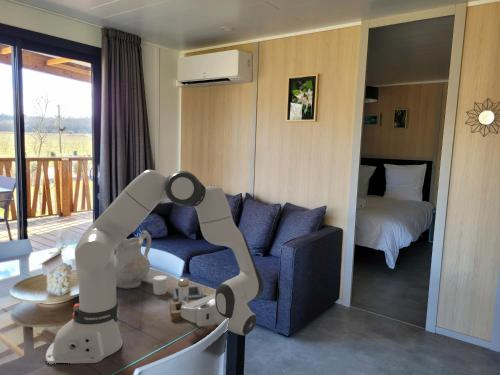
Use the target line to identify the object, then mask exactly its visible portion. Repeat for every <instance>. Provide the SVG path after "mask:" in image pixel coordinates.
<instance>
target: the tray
mask: <svg viewBox="0 0 500 375" xmlns="http://www.w3.org/2000/svg"><path fill="white" fill-rule="evenodd" d="M171 294H172V295H171V296H172V302H178V287H172V288H171ZM202 294H204V293H203V291H202V289H201V286H200V285H191V286H190V285H189V301H190V300H195V301H196V300H199V299H201V295H202Z"/></svg>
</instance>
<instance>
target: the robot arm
mask: <svg viewBox="0 0 500 375" xmlns="http://www.w3.org/2000/svg"><path fill="white" fill-rule="evenodd" d="M167 199H168V200H169V201H171V203H173V204H175V205H177V206H184V207H194V209H195V211H196V213H197V218H198V223H199V226H200V227H199V228H200V231H201V234H202V236H203V238H204V240H206V241H207V242H208V243H210V244H211V245H215V246H222V247H223V246H224V247H228V248H229V249H231V250H232V252H233V254H234V256H235V260H236V262H237V266H238V267H239V274H238V275H236V276H233V277H232V278H229V279H227V280H225V281H223V282H221V283H220V284H219V285H218V286H217V287H216V291H215V293H213V294H211V293H205V292H204V293H203V294H202V295H201V299H199V300H196V301H193V302H191V303H188V301H186V300H184V301H182V306H181V316H182V317H183V318H184V320H186V321H189V322H190V323H195V324H196V325H197V326H198V327H205V326H215V325H217V326H219V325H220V324H221V323H222V322H223V321H224V320H225V319H227V318H229V323H228V327H227V329H228V330H227V329H226V330H227V331H229V332H231V333H234V334H236V335H240V336H247V335H249V334H250V333H251V332H252V331H253V330H254V329H255V327H256V325H257V321H258V317H257V315H256V314H255V313H254V312H253V311H252V310H251V309H250V307H249V304H248V303H249V302H251V301H254V300H256V299H258V298H260V297H261V296H262V295H263V293H264V288H265V283H264V279H263V277H262V275H261V273H260V271H259V270H258V268H257V264H256V262H255V260H254V257H253V254H252V251H251V249H250V246H249V243H248V241H247V239H246V238H247V237H246V236H245V234H244V233H243V231H242V230H241V229H240V228H238V227H237V226H236V224H235V221H234V218H233V216H232V215H233V214H232V212H231V207H230V204H229V201H228V199H227V196H226V194H225V191H224V190H223V189H222V188H221V187H219V186H215V185H209V186H205V185H204V184H203V183H202V182H201V181H200V180H199V179H198V177H197V176H196V175H195V174H193V173H192V172H191V171H187V170H180V171H176V172H175V173H173V174H171V175H169V176H165V175H163V174H162V173H160V172H159V171H157V170H153V169H146V170H145V171H143V172H141V173H140V174H139V175H137V176H136V177H135V178H134V179H133V180H132V181H130V183H129V184H128V185H127V186H126V187H125V188H124V189H123V190H122V191H121V193H120V194H118V196H117V197H116V198H115V199H114V200H113V201H112V202H111V203H110V205H108V207H107V208H106V209H105V210H104V211H103V212H102V213H101V214H100V215H99V216H98V218H96V219H95V221H94V222H93V223H91V225H89V226H88V228H87V229H86V230H85V232H83V234H82V236H81V237H80V239H79V241H78V242H77V244H75V245H76V246H75V250H74V259H75V260H74V261H75V268H76V275H77V281H78V298H79V300H78V302H79V303H75V304H74V305H73V308H72V309H73V310H72V319H71V320H69V321H68V322H67V323H65V324H64V325H63V326H62V327H60V328H59V330H58V331H57V333H56V334H55V337H54V340H53V342H52V343H51V344H50V345H49V347H48V348H47V349H46V352H45V362H46V361H47V362H46V364H48V363H49V364H48V365H57V364H56V363H68V364H69V363H70V364H71V365H72V364H95V363H100V362H101V361H102V360H103V359H105V358H106V357H109V356H111V355H113V354H115V353H117V351H119V350H120V349H121V348H122V346H123V343H124V342H123V339H122V337H121V336H122V335H121V332H120V329H119V322H118V321H119V313H120V312H119V303H118V301H117V287H116V283H117V282H116V276H115V260H114V255H115V254H116V248H117V247H118V245H119V244H120V243H121V242H122V241H123V240H124V239H125V238H126V239H127V237H129V235H131V234H132V233H133V232H134V231H135V230H136V229H138V227H139V226H140V225H141V223H143V222H144V220H145V219H146V218H147V217H148V216H149V215H150V213H151V212H152V211H153V210H154V209H155V208H156V207H157V205H159V203H160V202H162V201H163V200H167ZM54 363H55V364H54ZM68 364H67V365H68Z"/></svg>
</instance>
